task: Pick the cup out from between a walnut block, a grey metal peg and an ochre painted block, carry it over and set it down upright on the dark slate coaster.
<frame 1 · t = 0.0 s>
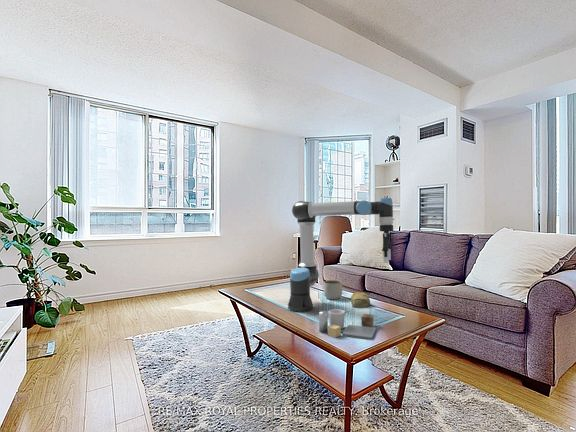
hand: (387, 261, 173), 28 cm above the table, fingers open, 13 cm apart
ochre block: (334, 335, 136), on the table
grey peg: (323, 331, 141), on the table
walnut block: (367, 325, 148), on the table
coaster: (359, 332, 138), on the table
cup: (336, 327, 147), on the table
planter: (333, 298, 203), on the table
pastry: (360, 305, 185), on the table
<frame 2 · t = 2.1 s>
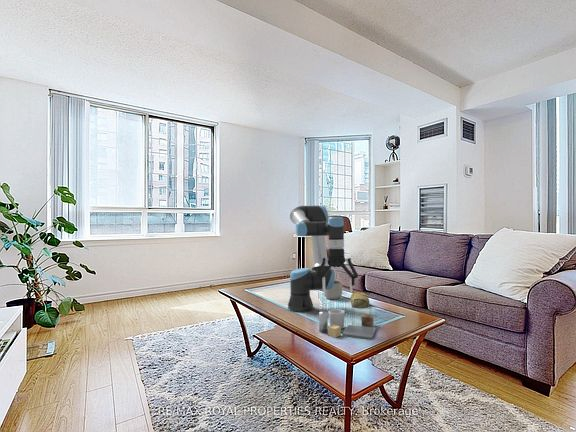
hand: (337, 291, 148), 17 cm above the table, fingers open, 13 cm apart
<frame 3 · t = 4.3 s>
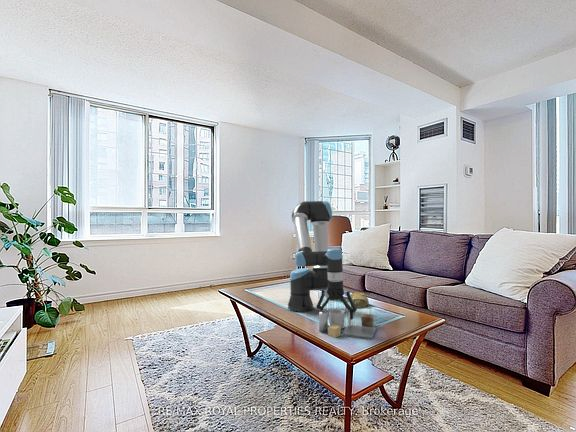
hand: (336, 324, 147), 1 cm above the table, fingers open, 12 cm apart
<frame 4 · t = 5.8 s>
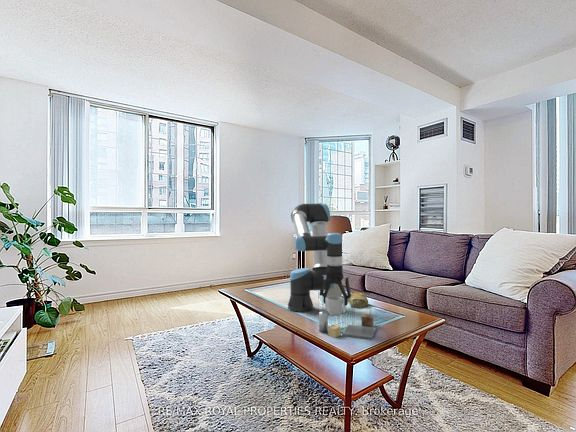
hand: (335, 310, 148), 8 cm above the table, fingers closed on cup, 8 cm apart
cup: (333, 313, 148), point 6 cm above the table, touching gripper
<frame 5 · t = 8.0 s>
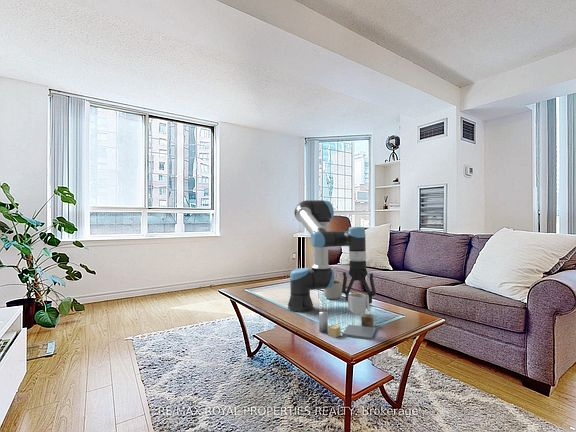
hand: (359, 309, 138), 11 cm above the table, fingers closed on cup, 8 cm apart
cup: (357, 312, 139), point 9 cm above the table, touching gripper
when the fingers open (2 cm above the table, at t = 10.3 s): cup stays where it is, resting on coaster.
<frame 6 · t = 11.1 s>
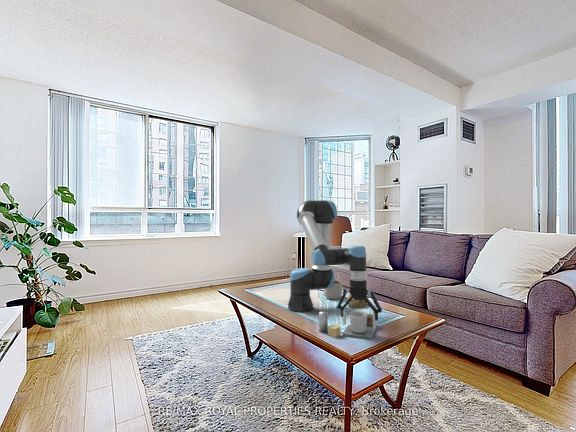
hand: (359, 325, 138), 3 cm above the table, fingers open, 13 cm apart
cup: (357, 330, 139), point 1 cm above the table, touching coaster
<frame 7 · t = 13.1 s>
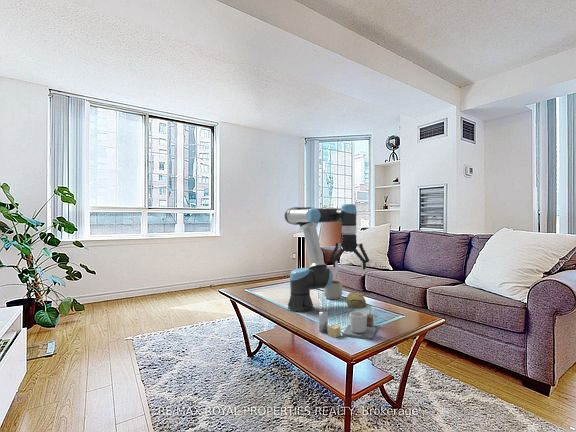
hand: (349, 274, 156), 24 cm above the table, fingers open, 13 cm apart
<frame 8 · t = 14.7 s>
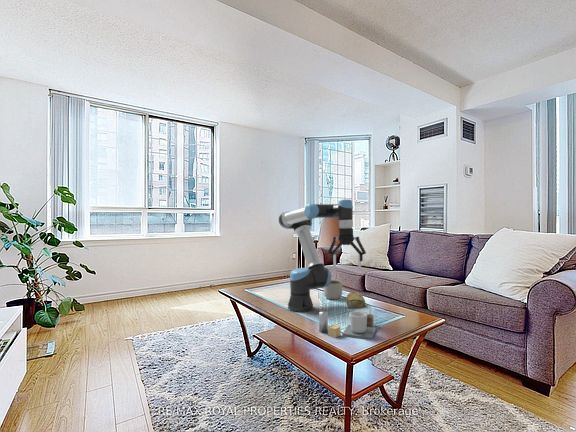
hand: (346, 267, 163), 27 cm above the table, fingers open, 13 cm apart
at the end: cup inside the target area on the coaster (0.8 cm from its centre), point 0.8 cm above the coaster's base; cup tilted 0°; the gripper is holding nothing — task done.
